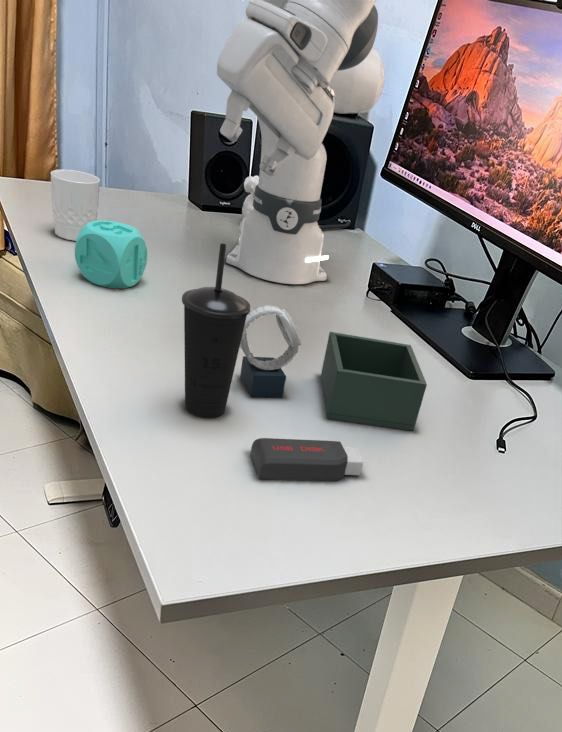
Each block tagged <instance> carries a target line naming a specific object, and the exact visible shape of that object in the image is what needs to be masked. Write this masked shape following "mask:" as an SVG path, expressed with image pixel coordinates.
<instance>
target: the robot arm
mask: <svg viewBox="0 0 562 732" xmlns="http://www.w3.org/2000/svg"><path fill="white" fill-rule="evenodd" d="M376 2H377V0H249V1H248V3H247V5H246V8H245V16H246V17H245V18H242V19H241V20H240V21H239V22H238V23H237V24H236V25H235V27H234V28H233V30H232V31H231V33H230V35H229V37H228V39H227V41H226V42H225V44H224V46H223V48H222V50H221V52H220V54H219V55H218V59H217V61H216V76H217V77H218V78H219V79H220V80H221V81H222V82H223V83H224V84H225V86H227V87H228V88H229V90H231V91H230V94H229V96H228V97H227V100H226V108H225V109H226V110H225V119H224V121H223V123H222V125H221V127H220V129H219V132H220V134H221V135H222V136H223V137H225V138H226V139H227V140H229V141H230V142H232V143H235V142H238V140H239V137H240V136H241V134H242V133H243V129H242V127H241V123H242V118H243V113H244V112H247V111H248V110H249V109H250V111H251V112H253V114H254V115H255V116H256V117H257V120H258V125H259V129H260V135H261V153H260V163H259V174H258V177H259V182H258V185H256V187H255V192H254V195H253V198H254V199H253V207H254V209H253V210H252V212H251V213H250V214H248V215H247V216H246V218H243V217H242V220H241V221H240V222H239V228H238V233H239V234H240V235H239V237H238V239H237V244H236V246H235V247H233V249H232V250H231V251H230V253H228V255H226V257H225V263H227V264H228V265H231V266H233V267H236V268H238V269H240V270H242V271H243V272H245V273H247V274H249V275H251V276H253V277H256V278H258V279H262V280H264V281H270V282H273V283H277V284H279V283H280V284H286V285H306V284H311V283H314V282H324V281H327V280H328V279H327V278H328V274H327V273H326V271H325V269H324V268H323V267H322V266H321V261H327V260H329V257H330V256H329V255H328V254H327V255H322V252H323V245H324V238H325V234H324V233H323V231H322V230H336V229H337V230H338V229H347V228H349V227H350V226H351V220H350V221H347V220H346V219H345V217H344V216H341V215H340V217H341V218H340V219H342V218H343V219H345V221H346V223H343V224H326V225H319V223H318V221H319V220H320V214H321V212H322V200H323V199H322V198H321V194H322V188H323V183H324V179H325V177H324V176H325V172H326V165H327V160H328V159H327V157H328V155H327V151H326V148H325V145H324V143H323V141H324V140H325V139H324V138H325V137H326V135H327V132H328V130H329V128H330V125H331V123H332V120H333V117H334V113H336V114H365V113H368V112H369V111H371V110H372V109H373V108H374V107H375V105H376V104H377V103H378V102H379V100H380V98H381V96H382V93H383V90H384V87H385V77H386V76H385V75H386V74H385V73H386V72H385V68H384V67H385V66H384V62H383V60H382V57H381V55H380V53H379V51H378V49H376V48H375V47H374V44H375V41H376V38H377V33H378V26H379V12H378V9H377V7H376V5H375V4H376Z"/></svg>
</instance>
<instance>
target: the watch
mask: <svg viewBox="0 0 562 732" xmlns="http://www.w3.org/2000/svg"><path fill="white" fill-rule="evenodd" d="M267 315H275V319H276V322H277V325H278V328H279V330H280V332H281V334H282V336H283V338H284V340H285V342H286V344H287V348H286V349H285V350H284V352H283V353H282V354H280V355H279V356H278V357H270V356H269V357H268V356H255V355H254V354H253V352H251V350H250V346H249V342H248V333H247V329H248V328H249V326H250V325H251V324H252V323H253V322H255V320H258V319H259V318H261V317H263V316H267ZM300 337H301V336H300V335H299V332H298V329H297V327H296V325H295V322H294V321H293V318H292V317H291V315H290V313H289V312H288V311H287V309H285V308H283V309H280V307H278V306H277V305H273V304H261V305H257V306H255V307H253V308H251V309H250V313H249V314H248V315H247V317H246V321H245V326H244V330H243V334H242V339H241V343H240V348H241V350H242V352H243V354H244V355H243V356H242V360H241V361H242V362H241V368H240V375H239V379H240V381H241V382H242V384H243V386H244V388H245V390H246V392H247V394H248V395H249V397H250V398H268V399H269V398H270V399H272V398H273V399H275V398H276V399H283V396H284V391H285V386H286V380H287V375H286V374H285V372H284V370H283V369H282V368H283V367H285V366H287V365H289V363H290V362H292V361H293V360H294V358H295V357H296V356H297V354H298V353H299V346H301V345H302V341H301V338H300Z"/></svg>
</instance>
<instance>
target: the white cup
mask: <svg viewBox="0 0 562 732" xmlns="http://www.w3.org/2000/svg"><path fill="white" fill-rule="evenodd" d="M100 184H101V179H100V178H99V177H98V176H96V175H94V174H92V173H89V172H85V171H80V170H75V169H74V170H73V169H55V170H54V169H53V170H51V171H50V185H51V186H50V187H51V202H52V204H51V205H52V206H51V207H52V217H53V221H54V234H55V235H56V236H57V237H59V238H61V239H65V240H67V241H73V242H76V240H77V237H78V235H79V233H80V231H81V229H82V228H83V227H84V226H85V225H86V224H87V223H89V222H92V221H98V211H99V199H100Z"/></svg>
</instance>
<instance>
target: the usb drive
mask: <svg viewBox="0 0 562 732" xmlns="http://www.w3.org/2000/svg"><path fill="white" fill-rule="evenodd" d="M250 456H251V459H252V463H253V466H254V469H255V472H256V475H257V478H258V479H259V480H274V481H275V480H276V481H279V480H280V481H316V482H317V481H318V482H322V481H323V482H337V481H339V480H343V479H344V478H345V476H361V473H362V469H363V464H364V461H363V458H362V457H361V455H360V453H359V451H358V449H357V448H356V447H355V446H354V447H350V446H344V445H343V444H342V442H341V441H340V440H339V441H337V440H322V439H321V440H319V439H295V438H294V439H293V438H273V437H272V438H271V437H261V438H257V439H254V441H253V442H252V445H251V447H250Z"/></svg>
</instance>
